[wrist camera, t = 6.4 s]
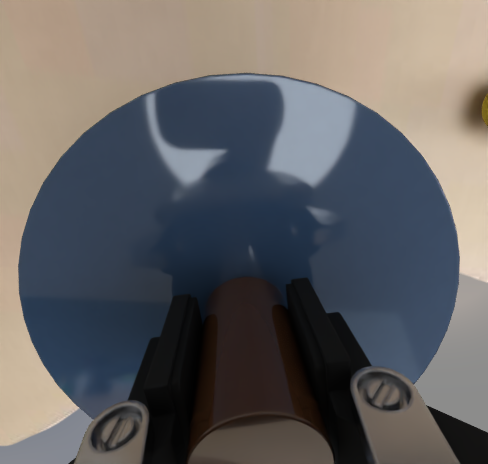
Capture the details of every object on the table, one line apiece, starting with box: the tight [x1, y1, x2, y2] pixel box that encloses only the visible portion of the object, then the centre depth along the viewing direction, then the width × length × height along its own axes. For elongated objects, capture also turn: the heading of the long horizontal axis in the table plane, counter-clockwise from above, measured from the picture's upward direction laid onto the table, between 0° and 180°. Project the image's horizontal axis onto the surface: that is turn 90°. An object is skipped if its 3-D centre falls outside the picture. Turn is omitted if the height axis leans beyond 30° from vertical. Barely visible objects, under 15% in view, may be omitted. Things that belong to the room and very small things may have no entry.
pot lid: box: [18, 73, 460, 464], centre depth 9 cm, size 16×16×7 cm
